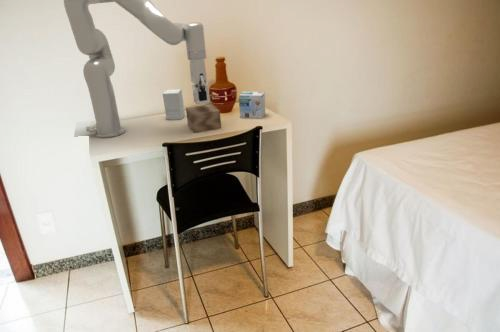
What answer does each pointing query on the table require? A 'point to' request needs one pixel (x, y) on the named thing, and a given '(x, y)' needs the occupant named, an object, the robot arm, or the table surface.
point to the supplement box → (173, 104)
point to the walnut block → (203, 118)
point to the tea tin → (196, 94)
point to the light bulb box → (252, 104)
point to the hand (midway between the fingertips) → (201, 98)
